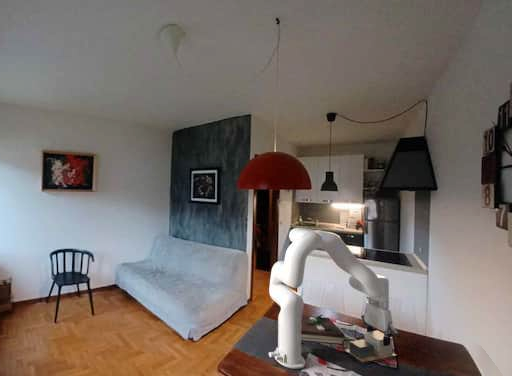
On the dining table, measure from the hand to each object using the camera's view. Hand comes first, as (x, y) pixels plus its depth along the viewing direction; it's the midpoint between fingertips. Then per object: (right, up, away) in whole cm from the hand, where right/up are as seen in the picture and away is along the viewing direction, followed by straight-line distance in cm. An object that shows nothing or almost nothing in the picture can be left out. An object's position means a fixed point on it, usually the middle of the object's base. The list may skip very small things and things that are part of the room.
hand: (378, 340), depth 122 cm
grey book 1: (-10, -2, -2) cm, 10 cm away
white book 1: (0, 0, 0) cm, 0 cm away
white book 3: (0, -5, 0) cm, 5 cm away
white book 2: (0, -3, 0) cm, 3 cm away
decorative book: (-24, -7, +15) cm, 29 cm away
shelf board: (-5, -6, -1) cm, 8 cm away
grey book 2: (-10, -5, -2) cm, 11 cm away
